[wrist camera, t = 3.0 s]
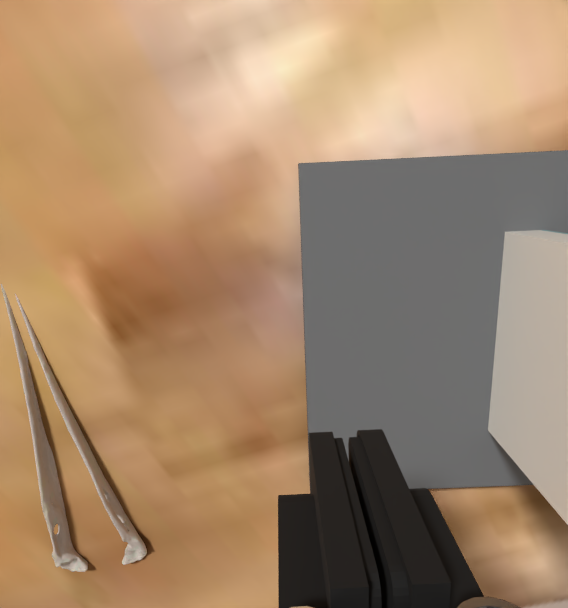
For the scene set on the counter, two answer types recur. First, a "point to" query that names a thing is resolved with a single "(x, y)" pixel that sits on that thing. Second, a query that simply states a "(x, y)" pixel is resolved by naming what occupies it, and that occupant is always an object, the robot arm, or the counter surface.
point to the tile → (533, 361)
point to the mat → (416, 301)
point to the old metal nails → (48, 472)
